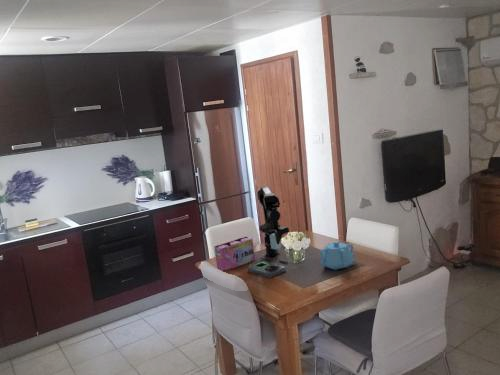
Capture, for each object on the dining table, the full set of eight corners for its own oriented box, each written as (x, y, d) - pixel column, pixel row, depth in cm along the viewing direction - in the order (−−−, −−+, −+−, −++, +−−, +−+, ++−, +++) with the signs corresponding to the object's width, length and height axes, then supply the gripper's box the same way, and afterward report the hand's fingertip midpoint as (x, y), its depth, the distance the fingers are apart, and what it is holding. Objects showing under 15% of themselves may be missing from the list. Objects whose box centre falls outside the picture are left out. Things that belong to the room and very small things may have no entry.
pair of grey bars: (280, 261, 256) (280, 259, 256) (287, 263, 251) (287, 261, 251) (271, 265, 251) (271, 263, 251) (279, 267, 247) (278, 265, 247)
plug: (276, 246, 252) (274, 232, 250) (281, 247, 249) (279, 233, 247) (271, 248, 249) (269, 234, 248) (276, 249, 246) (274, 235, 245)
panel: (263, 265, 253) (263, 259, 253) (285, 271, 239) (285, 265, 239) (247, 271, 246) (247, 266, 245) (269, 278, 232) (268, 272, 231)
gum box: (250, 257, 270) (247, 235, 268) (257, 259, 264) (254, 238, 261) (216, 268, 257) (213, 246, 255) (223, 271, 250) (220, 248, 248)
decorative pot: (346, 273, 226) (344, 248, 224) (317, 269, 236) (315, 245, 233) (358, 262, 239) (356, 238, 237) (330, 259, 249) (329, 236, 246)
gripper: (250, 218, 248) (254, 245, 251) (273, 222, 234) (276, 250, 236) (265, 214, 255) (268, 239, 258) (288, 217, 241) (291, 244, 243)
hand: (275, 243), depth 249 cm, fingers closed on plug, 4 cm apart
